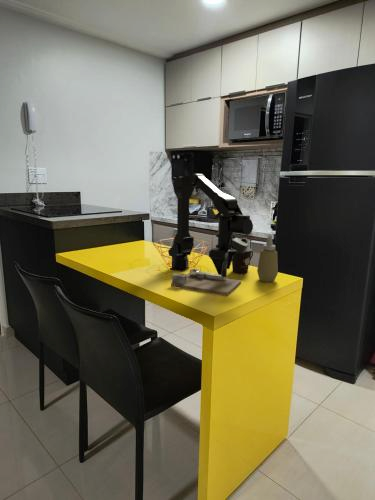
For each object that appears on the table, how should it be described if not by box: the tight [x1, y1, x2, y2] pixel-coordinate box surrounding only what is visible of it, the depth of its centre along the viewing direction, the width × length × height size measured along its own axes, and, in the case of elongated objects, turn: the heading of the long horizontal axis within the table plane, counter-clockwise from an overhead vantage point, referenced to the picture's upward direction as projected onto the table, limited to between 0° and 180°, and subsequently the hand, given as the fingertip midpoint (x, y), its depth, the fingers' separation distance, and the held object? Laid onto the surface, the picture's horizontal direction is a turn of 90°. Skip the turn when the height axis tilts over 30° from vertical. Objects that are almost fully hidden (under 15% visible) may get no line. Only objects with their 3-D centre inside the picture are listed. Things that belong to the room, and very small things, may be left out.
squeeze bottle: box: [256, 235, 279, 283], centre depth 133 cm, size 8×8×18 cm
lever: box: [189, 259, 228, 281], centre depth 131 cm, size 15×5×8 cm, turn 65°
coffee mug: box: [231, 247, 254, 275], centre depth 146 cm, size 12×9×10 cm
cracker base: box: [170, 272, 242, 297], centre depth 127 cm, size 22×16×4 cm
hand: (223, 271), depth 129 cm, fingers open, 9 cm apart
